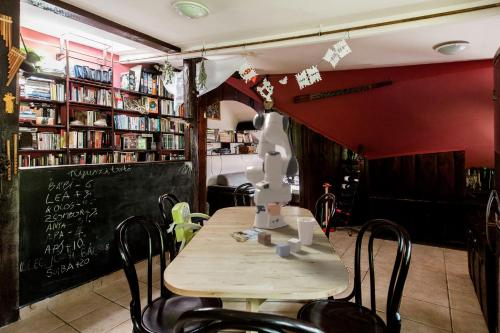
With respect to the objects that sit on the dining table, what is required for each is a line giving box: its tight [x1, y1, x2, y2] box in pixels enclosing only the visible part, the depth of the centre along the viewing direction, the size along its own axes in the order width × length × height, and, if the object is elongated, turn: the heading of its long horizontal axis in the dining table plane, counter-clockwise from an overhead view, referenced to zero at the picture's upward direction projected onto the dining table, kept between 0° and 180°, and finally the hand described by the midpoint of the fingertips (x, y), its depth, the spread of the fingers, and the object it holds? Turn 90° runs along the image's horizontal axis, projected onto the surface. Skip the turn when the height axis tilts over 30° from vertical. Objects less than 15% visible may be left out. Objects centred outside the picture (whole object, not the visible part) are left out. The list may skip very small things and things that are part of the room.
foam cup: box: [296, 216, 316, 246], centre depth 154 cm, size 10×9×13 cm
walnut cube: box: [257, 231, 272, 246], centre depth 156 cm, size 5×5×5 cm
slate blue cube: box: [275, 241, 291, 258], centre depth 140 cm, size 5×5×5 cm
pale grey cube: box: [286, 237, 302, 254], centre depth 145 cm, size 5×5×5 cm
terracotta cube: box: [266, 203, 281, 216], centre depth 146 cm, size 5×5×5 cm
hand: (273, 211), depth 146 cm, fingers closed on terracotta cube, 5 cm apart
